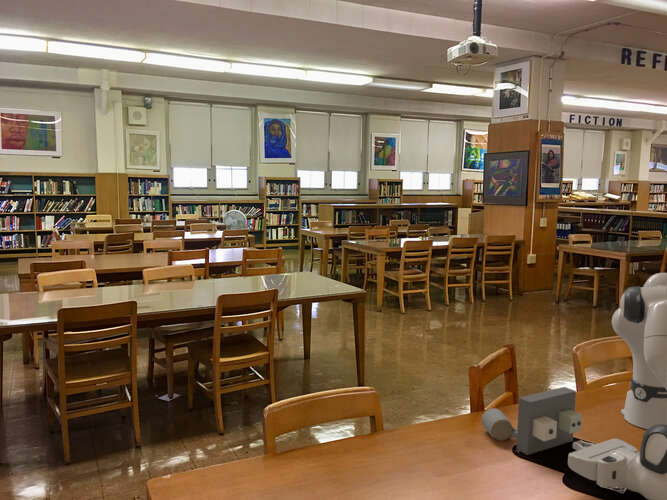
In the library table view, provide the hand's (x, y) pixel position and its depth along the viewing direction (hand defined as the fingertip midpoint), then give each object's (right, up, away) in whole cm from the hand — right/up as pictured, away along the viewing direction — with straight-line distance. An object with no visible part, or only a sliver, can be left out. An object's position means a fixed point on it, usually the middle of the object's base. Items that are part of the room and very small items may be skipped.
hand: (576, 443), depth 143 cm
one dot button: (-5, -1, +10) cm, 11 cm away
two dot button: (+5, -1, +15) cm, 15 cm away
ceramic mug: (-14, -6, +22) cm, 26 cm away
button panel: (-2, -6, +16) cm, 17 cm away
